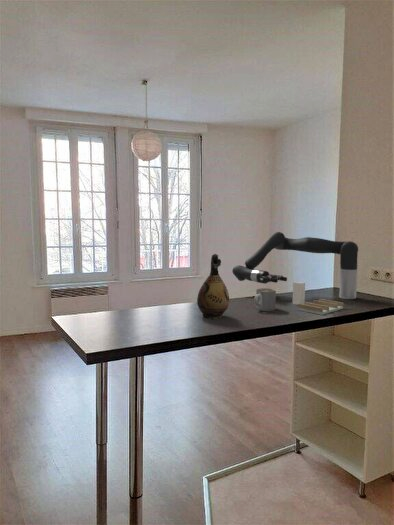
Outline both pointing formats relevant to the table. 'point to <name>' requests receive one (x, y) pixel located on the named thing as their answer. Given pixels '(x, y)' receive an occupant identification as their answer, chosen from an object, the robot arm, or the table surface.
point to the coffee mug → (265, 299)
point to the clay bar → (298, 293)
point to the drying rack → (321, 306)
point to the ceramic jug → (213, 293)
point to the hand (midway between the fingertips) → (281, 280)
